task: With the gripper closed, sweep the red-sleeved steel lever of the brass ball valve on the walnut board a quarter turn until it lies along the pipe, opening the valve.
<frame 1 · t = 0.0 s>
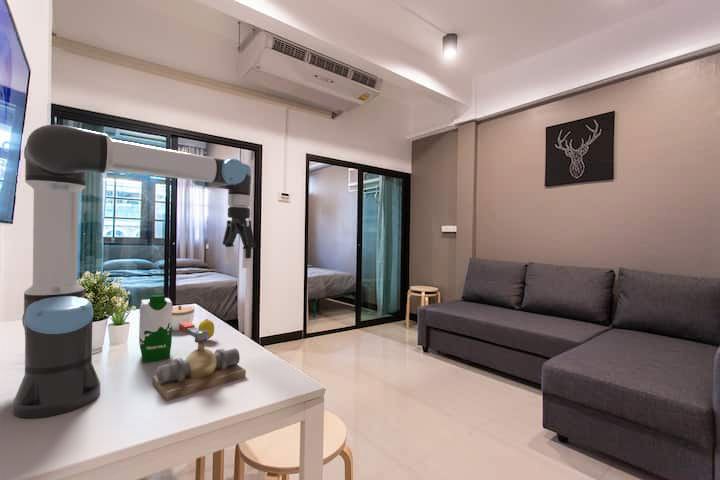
hand: (237, 265, 123), 28 cm above the table, tool pointing down, fingers open, 13 cm apart
milk carton: (155, 357, 107), on the table
valve rig: (200, 380, 92), on the table
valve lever: (193, 331, 96), point 12 cm above the table, hinge at 90.0°
lemon: (205, 341, 124), on the table
lidded jar: (179, 328, 138), on the table
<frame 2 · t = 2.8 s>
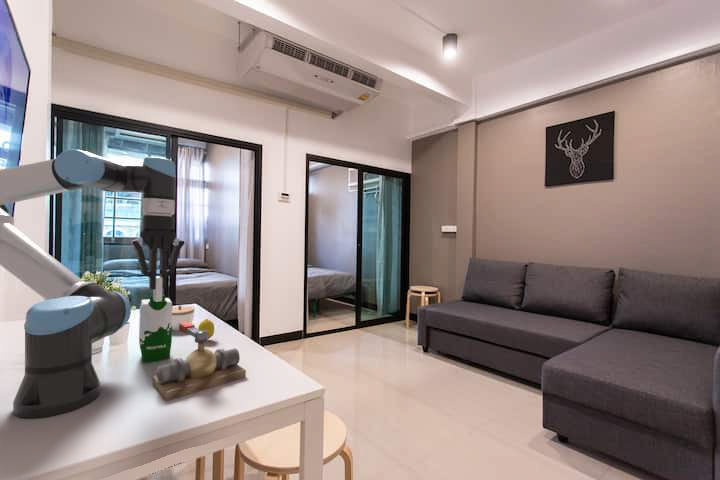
hand: (157, 300, 94), 21 cm above the table, tool pointing down, fingers closed
nothing on the table moved.
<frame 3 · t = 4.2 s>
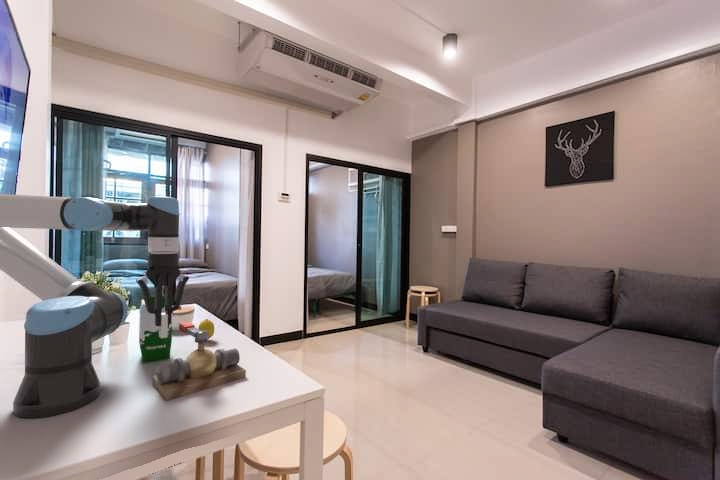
hand: (163, 336, 95), 11 cm above the table, tool pointing down, fingers closed
nothing on the table moved.
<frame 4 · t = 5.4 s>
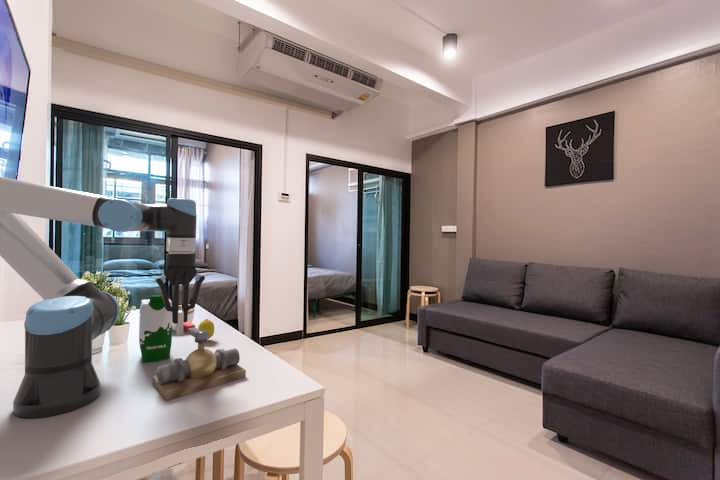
hand: (179, 333, 98), 11 cm above the table, tool pointing down, fingers closed
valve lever: (193, 331, 96), point 12 cm above the table, hinge at 89.3°, touching gripper
everything else where it was.
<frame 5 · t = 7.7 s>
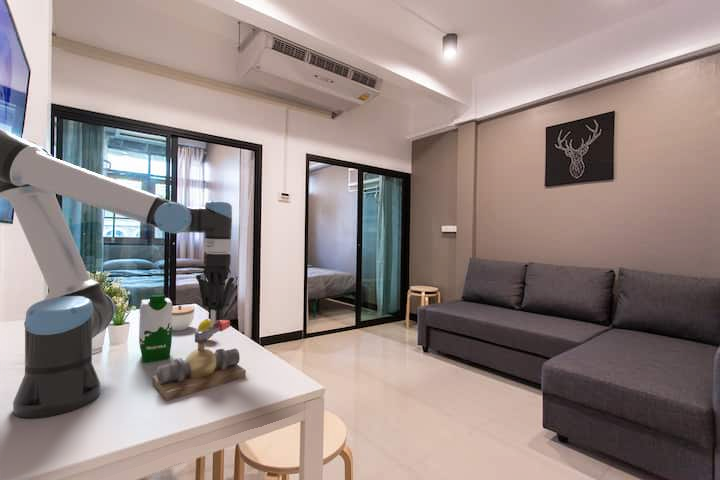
hand: (215, 330, 103), 10 cm above the table, tool pointing down, fingers closed
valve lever: (212, 330, 98), point 12 cm above the table, hinge at 38.7°, touching gripper
everything else where it was.
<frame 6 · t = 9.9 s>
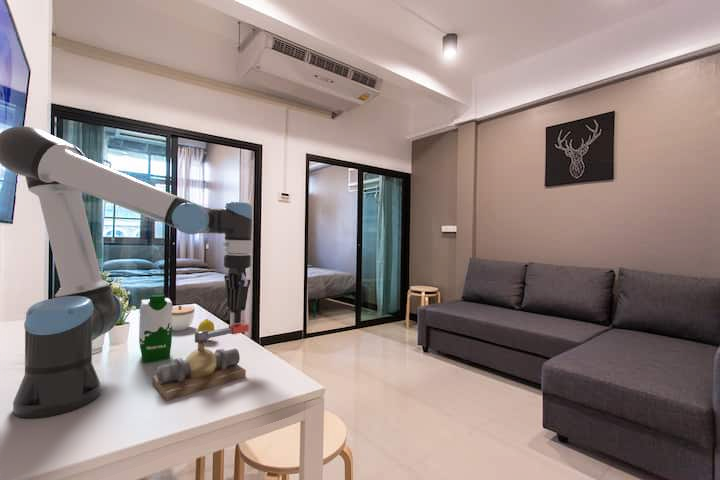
hand: (235, 332, 102), 10 cm above the table, tool pointing down, fingers closed
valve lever: (222, 332, 96), point 12 cm above the table, hinge at 3.9°, touching gripper
everything else where it was.
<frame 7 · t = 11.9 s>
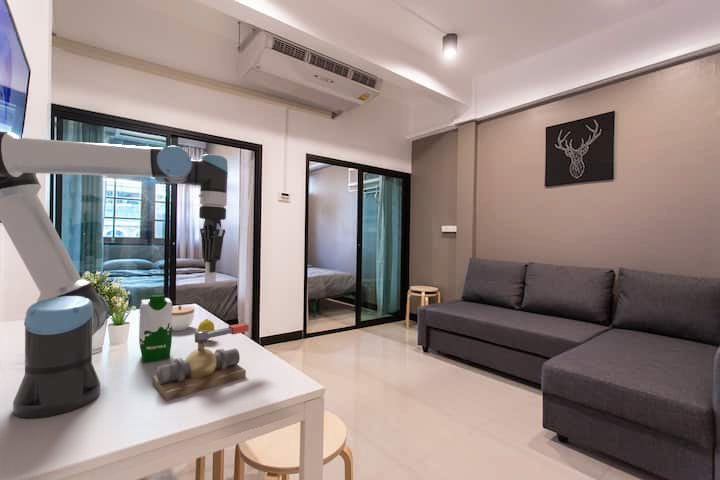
hand: (210, 282, 105), 25 cm above the table, tool pointing down, fingers closed
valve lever: (222, 332, 96), point 12 cm above the table, hinge at 3.9°
everything else where it was.
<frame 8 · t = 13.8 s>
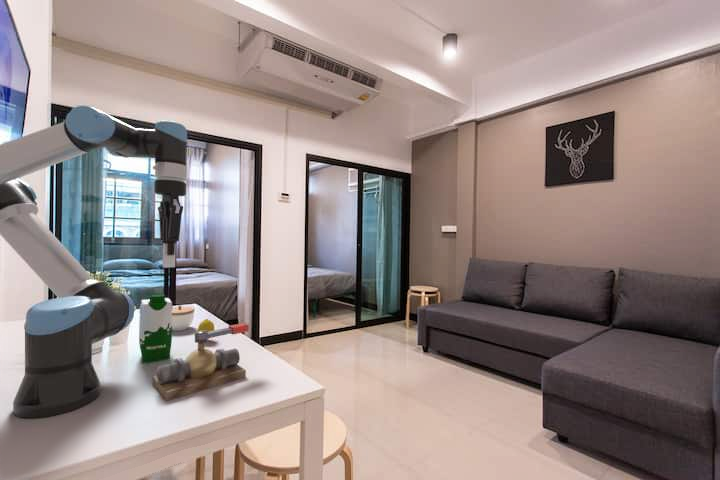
hand: (168, 267, 93), 30 cm above the table, tool pointing down, fingers closed
nothing on the table moved.
at the end: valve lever at +4° (first picture: +90°) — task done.
